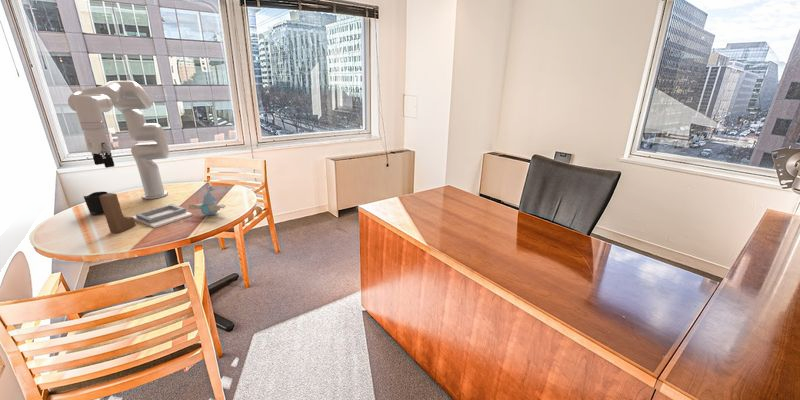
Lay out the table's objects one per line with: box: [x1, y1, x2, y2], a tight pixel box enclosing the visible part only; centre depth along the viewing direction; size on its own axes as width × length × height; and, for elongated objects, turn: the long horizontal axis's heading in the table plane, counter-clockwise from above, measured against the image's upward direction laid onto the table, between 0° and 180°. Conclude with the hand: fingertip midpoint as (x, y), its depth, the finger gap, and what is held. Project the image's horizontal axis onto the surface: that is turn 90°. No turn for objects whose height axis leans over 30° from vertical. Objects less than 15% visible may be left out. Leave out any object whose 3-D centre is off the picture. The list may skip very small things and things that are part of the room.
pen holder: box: [83, 191, 108, 216], centre depth 174 cm, size 9×9×10 cm
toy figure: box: [188, 184, 226, 216], centre depth 172 cm, size 17×10×15 cm, turn 84°
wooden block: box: [99, 192, 137, 234], centre depth 153 cm, size 9×4×18 cm, turn 169°
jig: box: [131, 203, 193, 229], centre depth 170 cm, size 22×18×3 cm
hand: (104, 165), depth 146 cm, fingers open, 9 cm apart
